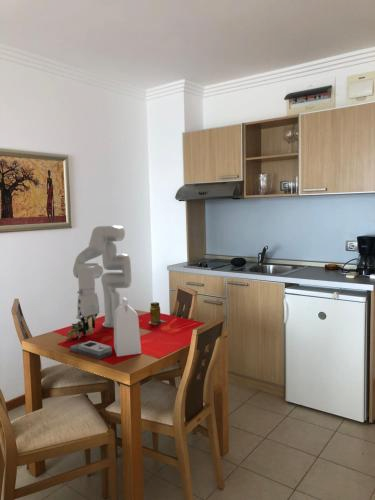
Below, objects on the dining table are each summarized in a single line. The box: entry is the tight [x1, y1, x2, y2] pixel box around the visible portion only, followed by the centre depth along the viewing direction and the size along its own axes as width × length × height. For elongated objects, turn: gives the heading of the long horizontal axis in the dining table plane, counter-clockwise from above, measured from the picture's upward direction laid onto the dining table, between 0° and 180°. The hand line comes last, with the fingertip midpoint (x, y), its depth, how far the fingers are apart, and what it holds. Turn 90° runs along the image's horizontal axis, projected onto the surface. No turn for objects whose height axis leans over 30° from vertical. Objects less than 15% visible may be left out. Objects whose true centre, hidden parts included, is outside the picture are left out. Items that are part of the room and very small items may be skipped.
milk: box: [113, 296, 142, 357], centre depth 202 cm, size 12×12×26 cm
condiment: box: [148, 301, 166, 325], centre depth 249 cm, size 7×8×12 cm
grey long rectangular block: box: [69, 340, 113, 360], centre depth 202 cm, size 22×8×5 cm, turn 52°
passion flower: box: [67, 320, 95, 341], centre depth 224 cm, size 11×11×12 cm
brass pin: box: [86, 315, 94, 335], centre depth 200 cm, size 3×3×9 cm
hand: (89, 328), depth 201 cm, fingers closed on brass pin, 3 cm apart
